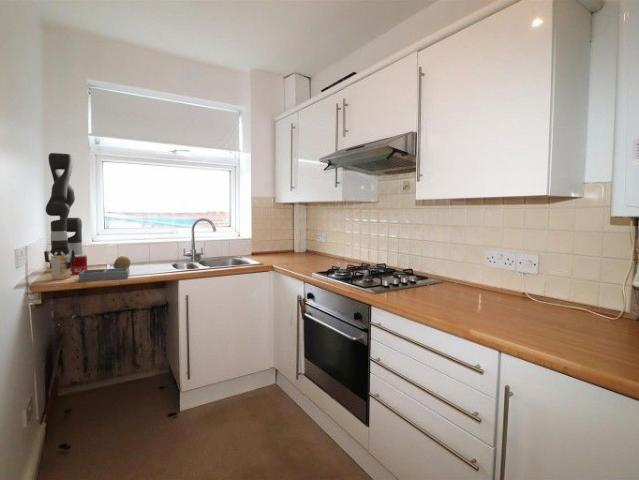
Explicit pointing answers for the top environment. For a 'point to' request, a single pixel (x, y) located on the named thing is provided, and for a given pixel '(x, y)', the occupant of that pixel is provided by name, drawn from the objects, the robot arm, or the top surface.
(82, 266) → the canned food
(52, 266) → the supplement box
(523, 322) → the top surface
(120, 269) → the organiser tray
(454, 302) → the top surface
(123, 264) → the natural sponge
